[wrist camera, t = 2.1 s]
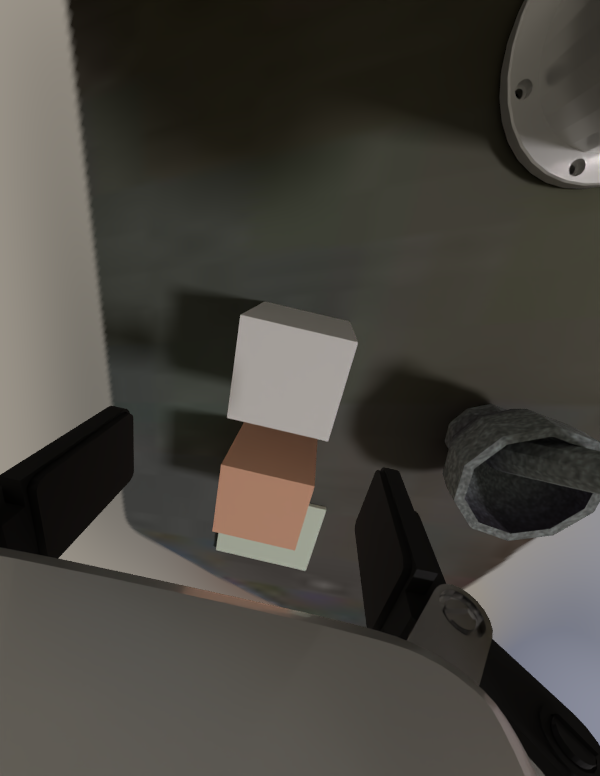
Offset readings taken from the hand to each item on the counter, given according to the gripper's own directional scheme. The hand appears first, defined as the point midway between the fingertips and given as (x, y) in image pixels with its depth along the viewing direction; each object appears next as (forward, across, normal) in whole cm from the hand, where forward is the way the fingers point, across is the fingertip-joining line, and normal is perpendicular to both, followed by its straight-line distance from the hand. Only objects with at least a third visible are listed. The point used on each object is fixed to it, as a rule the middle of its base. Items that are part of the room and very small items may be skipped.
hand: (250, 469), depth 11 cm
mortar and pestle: (+15, -18, +2) cm, 24 cm away
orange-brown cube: (+15, 0, +10) cm, 18 cm away
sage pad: (+15, -2, +20) cm, 25 cm away
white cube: (+15, 0, -1) cm, 15 cm away
